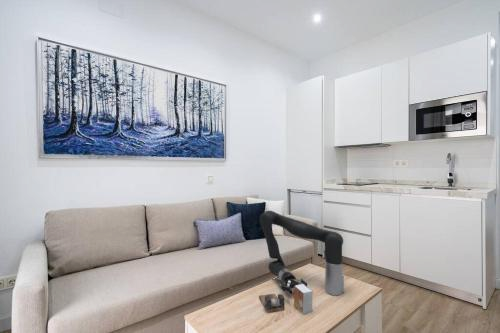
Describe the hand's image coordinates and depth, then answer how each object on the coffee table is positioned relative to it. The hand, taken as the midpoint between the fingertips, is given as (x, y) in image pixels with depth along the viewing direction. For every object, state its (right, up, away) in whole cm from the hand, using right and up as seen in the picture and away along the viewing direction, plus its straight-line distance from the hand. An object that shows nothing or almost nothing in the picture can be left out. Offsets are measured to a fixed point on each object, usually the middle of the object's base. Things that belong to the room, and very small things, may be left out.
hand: (299, 291), depth 126 cm
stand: (-15, -6, 0) cm, 16 cm away
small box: (+1, -7, -4) cm, 8 cm away
